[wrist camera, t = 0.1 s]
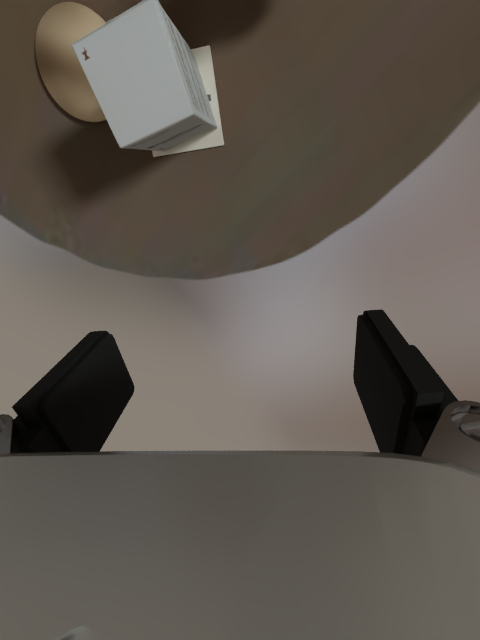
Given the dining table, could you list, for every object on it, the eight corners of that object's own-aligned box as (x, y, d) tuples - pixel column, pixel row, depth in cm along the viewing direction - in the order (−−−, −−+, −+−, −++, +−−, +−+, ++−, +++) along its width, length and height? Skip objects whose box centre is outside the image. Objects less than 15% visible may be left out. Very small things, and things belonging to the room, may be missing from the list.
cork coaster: (22, 16, 30) (18, 14, 29) (108, -7, 29) (105, -10, 28) (63, 128, 35) (60, 128, 34) (139, 114, 33) (137, 113, 33)
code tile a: (130, 63, 31) (129, 63, 31) (209, 45, 30) (209, 45, 30) (154, 157, 35) (153, 157, 35) (224, 145, 34) (223, 145, 34)
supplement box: (164, 153, 35) (117, 151, 24) (135, 80, 32) (65, 39, 21) (220, 130, 33) (195, 116, 22) (195, 50, 30) (152, -12, 19)
